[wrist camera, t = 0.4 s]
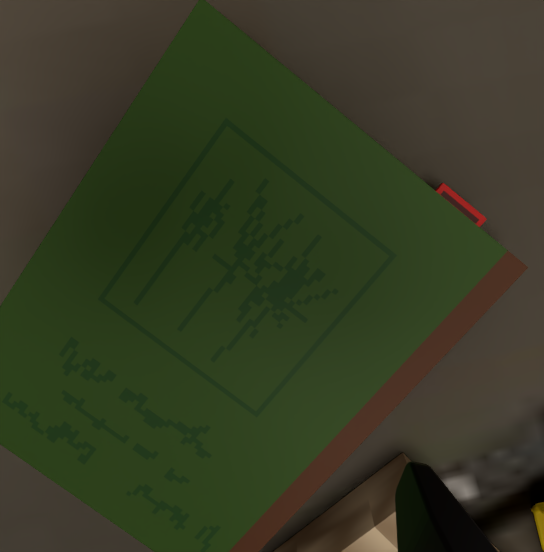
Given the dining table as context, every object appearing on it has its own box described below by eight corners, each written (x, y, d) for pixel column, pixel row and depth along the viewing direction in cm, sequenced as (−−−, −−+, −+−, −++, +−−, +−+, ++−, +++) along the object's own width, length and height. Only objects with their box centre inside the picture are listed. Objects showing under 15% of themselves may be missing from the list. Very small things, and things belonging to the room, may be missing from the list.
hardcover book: (227, 541, 28) (217, 595, 24) (-11, 371, 26) (-62, 401, 22) (501, 244, 23) (540, 254, 19) (226, 17, 21) (211, -19, 18)
